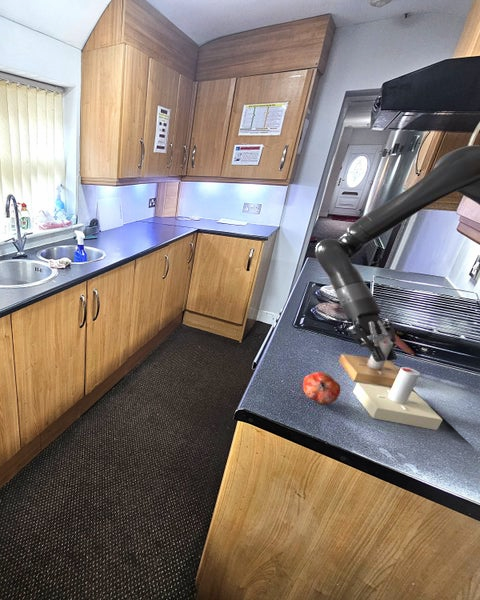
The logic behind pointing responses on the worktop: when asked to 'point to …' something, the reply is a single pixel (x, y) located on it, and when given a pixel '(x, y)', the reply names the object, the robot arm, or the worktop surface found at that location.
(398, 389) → the rod
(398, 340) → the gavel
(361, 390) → the cream base plate
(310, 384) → the pomegranate
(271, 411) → the worktop surface
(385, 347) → the rod
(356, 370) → the brown wooden block
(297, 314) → the worktop surface
